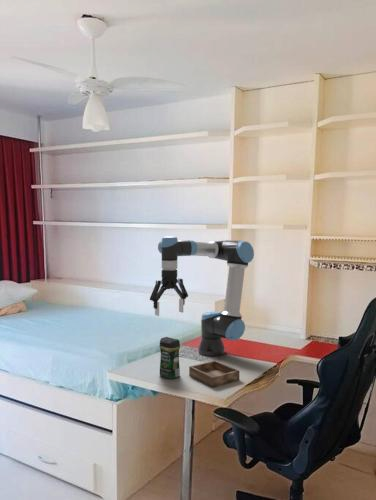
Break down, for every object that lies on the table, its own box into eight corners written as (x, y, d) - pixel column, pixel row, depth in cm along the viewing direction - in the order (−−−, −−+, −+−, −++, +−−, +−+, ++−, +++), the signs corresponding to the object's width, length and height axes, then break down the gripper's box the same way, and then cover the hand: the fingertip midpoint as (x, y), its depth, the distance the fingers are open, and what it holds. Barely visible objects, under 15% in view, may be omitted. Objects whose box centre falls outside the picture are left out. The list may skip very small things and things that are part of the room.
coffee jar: (156, 376, 195) (156, 337, 194) (167, 371, 201) (167, 334, 200) (171, 380, 188) (171, 341, 187) (182, 376, 194) (182, 338, 193)
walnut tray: (215, 369, 204) (215, 360, 204) (239, 380, 190) (239, 370, 189) (189, 375, 195) (189, 366, 195) (212, 387, 180) (212, 377, 180)
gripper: (186, 267, 202) (186, 309, 203) (142, 270, 188) (142, 315, 189) (195, 268, 196) (195, 312, 197) (150, 271, 181) (150, 318, 183)
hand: (169, 313), depth 193 cm, fingers open, 13 cm apart
